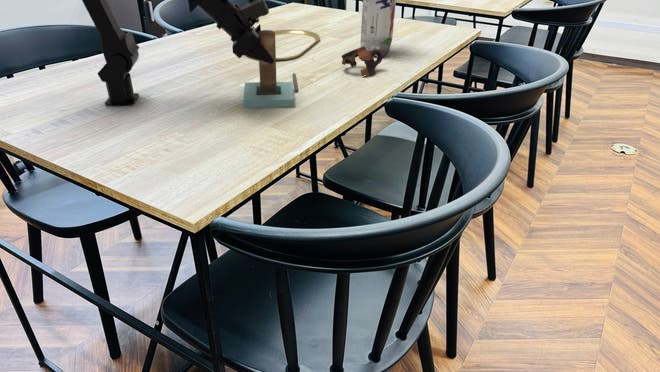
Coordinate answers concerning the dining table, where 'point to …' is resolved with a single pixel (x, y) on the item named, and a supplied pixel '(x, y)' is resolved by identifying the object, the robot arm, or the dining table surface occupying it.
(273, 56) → the dowel
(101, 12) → the robot arm
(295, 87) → the grey thin rod
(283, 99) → the square ring
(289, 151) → the dining table surface
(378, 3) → the juice carton
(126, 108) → the dining table surface
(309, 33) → the gold oval loop
